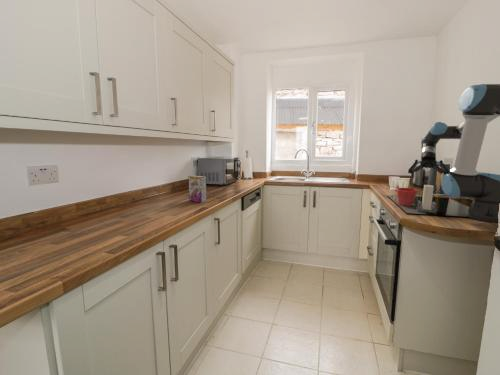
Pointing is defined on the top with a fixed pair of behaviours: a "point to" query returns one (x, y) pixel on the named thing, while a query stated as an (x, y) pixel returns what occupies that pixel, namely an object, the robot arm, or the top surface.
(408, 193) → the flower pot
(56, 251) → the top surface
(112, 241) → the top surface
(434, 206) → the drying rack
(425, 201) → the white tall block
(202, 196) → the candy bar box
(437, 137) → the robot arm
